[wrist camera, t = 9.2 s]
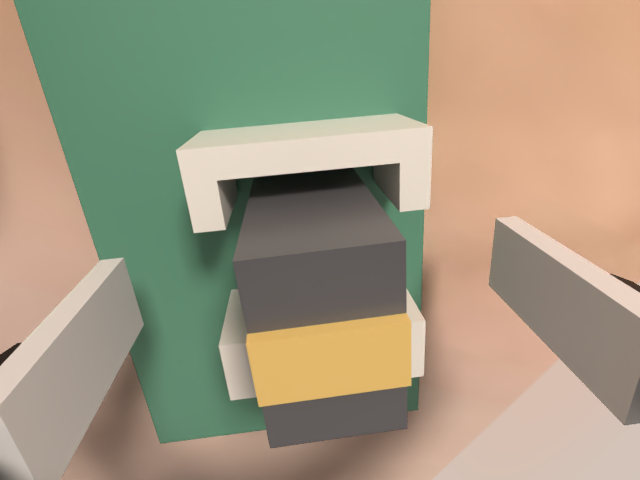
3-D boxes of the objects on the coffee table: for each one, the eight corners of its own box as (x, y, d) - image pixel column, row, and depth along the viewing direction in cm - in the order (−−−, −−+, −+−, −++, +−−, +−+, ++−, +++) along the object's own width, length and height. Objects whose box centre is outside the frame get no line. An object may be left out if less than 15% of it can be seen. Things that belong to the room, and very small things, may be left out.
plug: (274, 304, 18) (269, 461, 11) (253, 178, 16) (230, 269, 9) (359, 293, 19) (411, 440, 11) (352, 166, 16) (411, 247, 9)
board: (166, 425, 22) (135, 521, 18) (17, -48, 14) (-125, -110, 9) (411, 393, 23) (445, 478, 18) (421, -74, 14) (491, -145, 10)
